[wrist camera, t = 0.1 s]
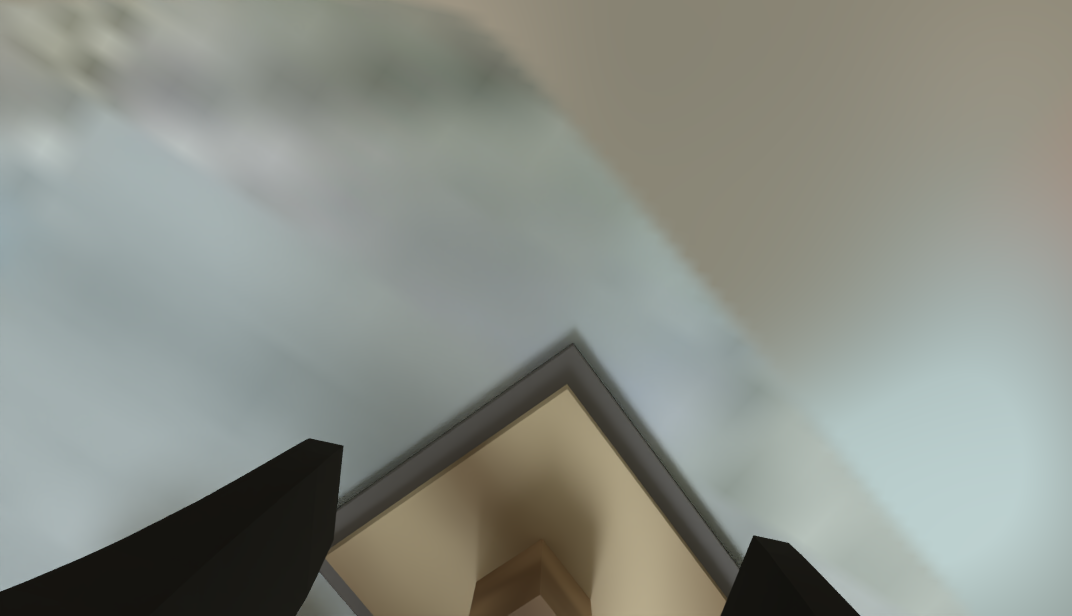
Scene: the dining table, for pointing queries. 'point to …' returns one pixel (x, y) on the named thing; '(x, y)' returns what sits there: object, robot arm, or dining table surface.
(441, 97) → the dining table surface
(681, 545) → the lid
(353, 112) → the dining table surface
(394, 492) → the mat
